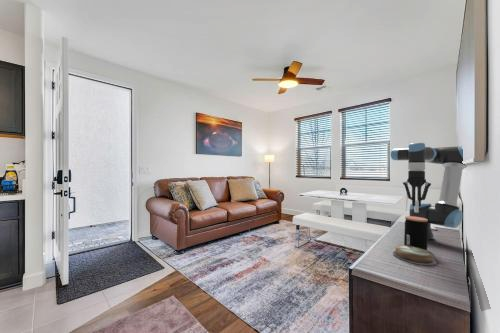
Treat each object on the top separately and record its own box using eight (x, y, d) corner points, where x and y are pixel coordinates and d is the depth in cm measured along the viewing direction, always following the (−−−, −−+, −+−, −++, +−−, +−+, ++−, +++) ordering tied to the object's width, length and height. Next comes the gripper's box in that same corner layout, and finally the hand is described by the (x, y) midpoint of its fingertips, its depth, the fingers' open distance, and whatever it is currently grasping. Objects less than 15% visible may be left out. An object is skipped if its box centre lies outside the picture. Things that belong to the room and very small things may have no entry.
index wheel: (391, 249, 124) (391, 233, 124) (424, 252, 119) (424, 236, 119) (402, 260, 108) (402, 242, 108) (440, 265, 104) (440, 246, 104)
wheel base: (409, 249, 125) (409, 247, 125) (445, 263, 108) (445, 260, 108) (385, 252, 120) (385, 250, 120) (419, 267, 102) (419, 264, 102)
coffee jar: (421, 246, 131) (421, 216, 131) (431, 253, 120) (432, 221, 120) (400, 245, 133) (401, 215, 133) (409, 251, 123) (410, 219, 123)
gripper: (429, 170, 124) (428, 211, 124) (401, 170, 129) (401, 209, 130) (433, 170, 117) (432, 214, 117) (403, 170, 123) (403, 212, 123)
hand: (416, 211), depth 123 cm, fingers closed
